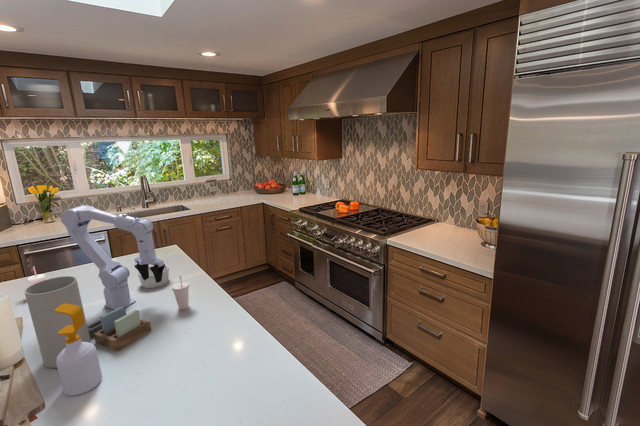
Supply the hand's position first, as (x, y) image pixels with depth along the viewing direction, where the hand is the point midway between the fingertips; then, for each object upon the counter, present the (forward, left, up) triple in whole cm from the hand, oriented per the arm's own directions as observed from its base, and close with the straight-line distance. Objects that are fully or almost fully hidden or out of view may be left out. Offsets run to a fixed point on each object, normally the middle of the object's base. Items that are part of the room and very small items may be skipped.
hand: (152, 280), depth 136 cm
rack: (+10, -21, -10) cm, 25 cm away
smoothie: (+14, +2, -11) cm, 17 cm away
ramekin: (-17, +14, -11) cm, 25 cm away
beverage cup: (-57, -14, -11) cm, 60 cm away
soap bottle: (+21, -41, -11) cm, 47 cm away
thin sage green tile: (+13, -21, -11) cm, 27 cm away
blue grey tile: (+6, -21, -11) cm, 24 cm away
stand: (-2, -20, -10) cm, 23 cm away
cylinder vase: (+3, -35, -11) cm, 37 cm away
